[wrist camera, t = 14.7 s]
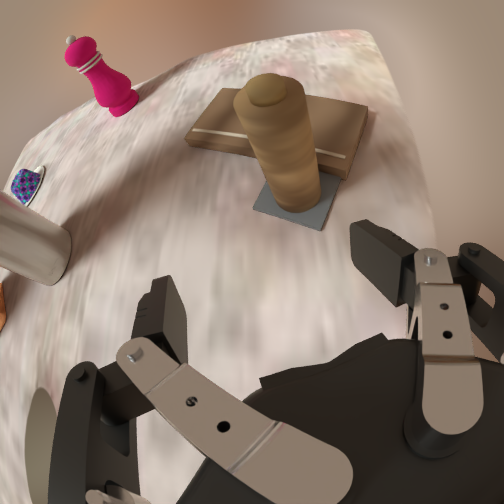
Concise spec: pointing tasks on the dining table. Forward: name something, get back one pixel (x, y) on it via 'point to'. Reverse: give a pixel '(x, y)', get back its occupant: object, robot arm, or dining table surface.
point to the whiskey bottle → (2, 308)
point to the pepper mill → (101, 76)
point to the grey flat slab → (309, 218)
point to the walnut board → (322, 123)
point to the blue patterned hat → (26, 184)
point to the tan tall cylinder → (281, 138)
